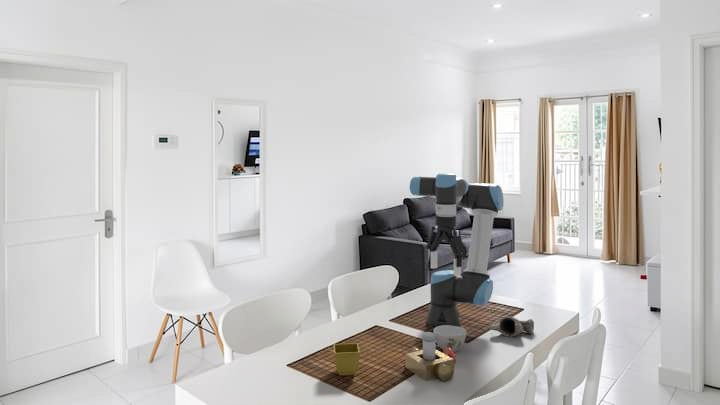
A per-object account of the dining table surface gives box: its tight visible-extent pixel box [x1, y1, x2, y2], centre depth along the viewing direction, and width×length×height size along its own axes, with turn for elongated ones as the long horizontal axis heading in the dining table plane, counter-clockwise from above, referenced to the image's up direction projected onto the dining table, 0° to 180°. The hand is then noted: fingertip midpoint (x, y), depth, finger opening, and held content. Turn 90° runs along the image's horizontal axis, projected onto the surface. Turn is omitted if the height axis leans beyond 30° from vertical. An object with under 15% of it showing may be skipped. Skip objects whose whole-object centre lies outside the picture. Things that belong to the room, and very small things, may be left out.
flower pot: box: [332, 342, 361, 376], centre depth 179 cm, size 9×9×9 cm
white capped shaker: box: [421, 331, 437, 362], centre depth 181 cm, size 5×5×12 cm
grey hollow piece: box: [489, 315, 535, 338], centre depth 215 cm, size 16×9×15 cm
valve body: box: [404, 346, 457, 382], centre depth 182 cm, size 20×15×6 cm
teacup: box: [433, 325, 468, 353], centre depth 199 cm, size 15×12×8 cm
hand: (445, 271), depth 193 cm, fingers open, 13 cm apart
